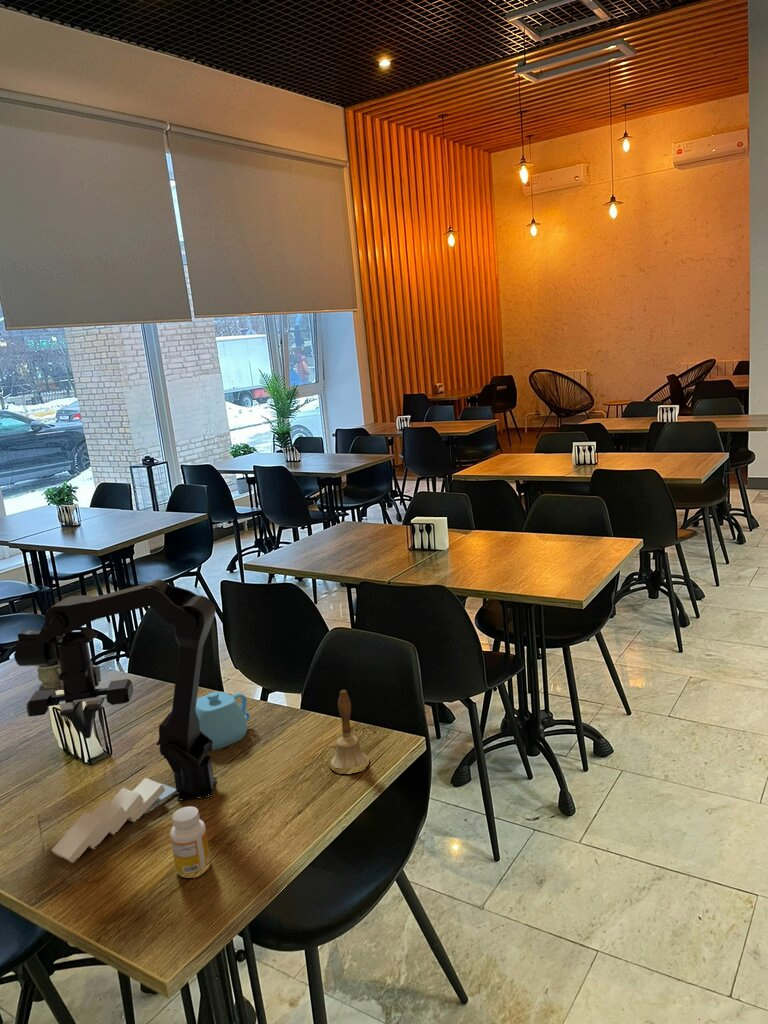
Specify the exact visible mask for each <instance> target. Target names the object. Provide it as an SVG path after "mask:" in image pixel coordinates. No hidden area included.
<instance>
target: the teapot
mask: <svg viewBox="0 0 768 1024" xmlns="http://www.w3.org/2000/svg"><path fill="white" fill-rule="evenodd" d="M239 698H241V704H239V703H238V702H237V700H236V699H239ZM247 700H248V699H247V697H246V695H244V694H243V693H240V692H236V693H233V694H232V695H231V694H230V693H227V692H224V691H212V692H209V693H207V694H205V695H203V696H200V697H197V702H196V714H197V716H198V719H199V726H200V731H201V732H202V733H203V734H205V735H206V736H207V737H208V738H210V739H211V740H212V741H213V745H212V749H211V751H217V750H220V749H222V748H226V747H228V746H231V745H233V744H235V743H237V742H239V741H241V740H242V739H244V737H245V735H246V734H247V730H248V725H247V721H248V720H249V719H250V713H249V712H248V711H246V709H247V702H248V701H247ZM170 712H172V710H170V711H168V713H170Z"/></svg>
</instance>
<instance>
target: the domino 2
mask: <svg viewBox="0 0 768 1024" xmlns="http://www.w3.org/2000/svg"><path fill="white" fill-rule="evenodd" d="M91 814H92V815H94V816H97V817H99V818H101V819H103V820H104V822H105V823H106V824H107V825H106V826H105V828H104V829H103V830H102V831H101V832H100V833H99V835H98V836H97V837H96V838H95V839H94V840H93V842H92V843H91V844H90V845H89V847H91V848H94V847H95V846H97V845H98V844H99V845H100V844H101V842H103V840H105V839H104V838H105V837H107V835H108V833H109V832H110V830H111V829H112V828H113V827H114V826H115V824H116V823H117V822H118V821H119V820H120V818H121V817H122V816H123V815H124V814H125V810H124V809H123V807H122V806H119V805H117V804H114V803H111V801H108V800H106V799H103V801H101V803H100V804H99V805H98V806H97V807H96V808H95V810H94V811H93V812H92V813H91ZM99 845H98V846H99ZM98 846H97V847H98ZM91 848H90V849H91Z"/></svg>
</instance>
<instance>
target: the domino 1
mask: <svg viewBox="0 0 768 1024" xmlns="http://www.w3.org/2000/svg"><path fill="white" fill-rule="evenodd" d="M106 825H107V824H106V823H105V822H104V820H103V819H101V818H99V817H97V816H94V815H92V813H89V812H87V811H84V812H83V814H82V815H81V816H80V817H79V818H78V819H77V820H76V821H75V823H74V824H73V825H72V826H71V827H70V828H69V829H68V831H67V832H66V833H64V835H63V836H62V837H61V839H60V840H59V841H58V842H56V844H55V845H54V846H53V847H52V849H51V852H53V854H54V855H55V854H56V855H58V856H60V857H62V858H64V859H66V860H68V861H70V862H73V861H74V860H76V859H77V858H78V859H79V858H80V857H81V856H82V854H83V853H84V852H85V851H86V850H87V848H88V846H89V845H90V844H91V843H92V842H93V840H94V839H95V838H96V837H97V836H98V835H99V833H100V832H101V831H102V830H103V829H104V828H105V826H106ZM56 855H55V856H56ZM58 856H57V857H58ZM60 857H59V858H60ZM62 858H61V859H62ZM64 859H63V860H64ZM78 859H77V860H78ZM66 860H65V861H66ZM77 860H76V861H77ZM68 861H67V862H68ZM70 862H69V863H70Z"/></svg>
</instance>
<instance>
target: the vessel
mask: <svg viewBox="0 0 768 1024" xmlns="http://www.w3.org/2000/svg"><path fill="white" fill-rule="evenodd" d="M35 668H37V677H38V681H40V682H42V683H41V685H42V686H43V687H42V688H44V687H47V688H46V689H55V688H58V686H59V687H62V686H63V685H62V680H61V681H60V678H59V675H60V669H59V663H58V658H57V659H55V661H54V663H53V664H51V665H40V666H35ZM61 685H62V686H61Z"/></svg>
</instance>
